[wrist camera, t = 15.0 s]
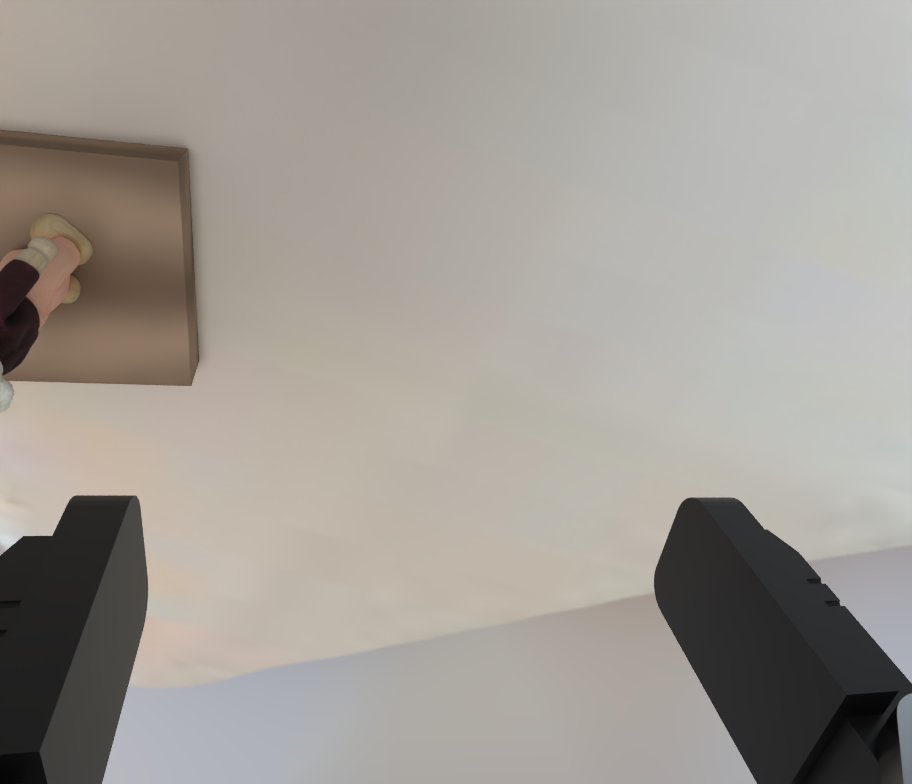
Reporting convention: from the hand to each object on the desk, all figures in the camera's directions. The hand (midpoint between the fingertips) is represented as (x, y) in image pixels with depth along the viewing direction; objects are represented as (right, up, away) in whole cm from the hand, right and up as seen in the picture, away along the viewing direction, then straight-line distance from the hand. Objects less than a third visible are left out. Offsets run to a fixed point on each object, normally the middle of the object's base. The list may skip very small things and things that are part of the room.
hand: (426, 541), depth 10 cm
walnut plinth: (-20, +9, +26) cm, 34 cm away
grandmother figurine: (-19, +8, +23) cm, 31 cm away
